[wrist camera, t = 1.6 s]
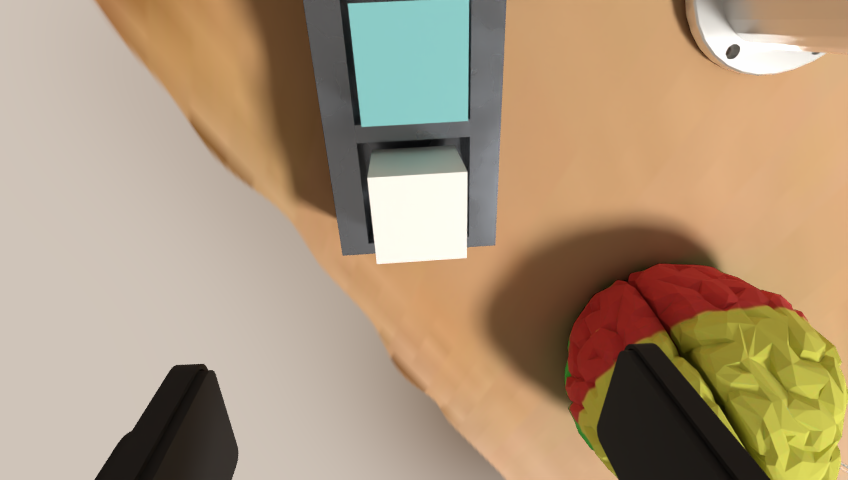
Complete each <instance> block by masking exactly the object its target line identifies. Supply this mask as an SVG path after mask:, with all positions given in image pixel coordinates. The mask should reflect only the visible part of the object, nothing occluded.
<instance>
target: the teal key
mask: <svg viewBox="0 0 848 480" xmlns="http://www.w3.org/2000/svg"><path fill="white" fill-rule="evenodd" d="M348 10H349V19H350V28H351V37H352V46H353V55H354V64H355V73H356V82H357V91H358V100H359V109H360V118H361V127H370V126H388V125H406V124H424V123H441V122H459V121H468V66H469V0H415V1H393V2H371V3H349V4H348Z"/></svg>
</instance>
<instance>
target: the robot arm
mask: <svg viewBox="0 0 848 480" xmlns="http://www.w3.org/2000/svg"><path fill="white" fill-rule="evenodd" d="M685 5H686V16H687V20H688V23H689V27H690V31H691V34H692V36H693V37H694V39H695V41H696V43H697V45H698V47H699V48H700V50H701V51H702V52H703V53H704V54H705V55H706V56H707V57H708V58H709V59H710V60H711V61H712V62H714V63H716V64H717V65H719V66H721V67H722V68H724V69H727V70H730V71H734V72H737V73H742V74H750V75H775V74H779V73H783V72H787V71H791V70H795V69H797V68H799V67H801V66H804V65H806V64H808V63H811V62H813V61H815V60H816V59H818V58H820V57H821V56H823V55H825V54H826V53H834V54H848V0H685ZM597 436H598V439H599V442H600V444H601V446H602V448H603V450H604V452H605V454H606V456H607V458H608V460H609V462H610V464H611V466H612V468H613V469H614V471H615V473H616V475H617V477H618V479H619V480H771V479H770V478H769V477H768V476H767V475H766V473H765V472H764V471H763V470H762V469H761V467H760V466H759V465H758V464H757V463H756V461H755V460H754V459H753V458H752V457H751V456H750V454H749V453H748V452H747V451H746V450H745V448H744V447H743V446H742V445H741V444H740V442H739V441H738V440H737V439H736V438H735V436H734V435H733V434H732V433H731V432H730V431H729V429H728V428H727V427H726V426H725V425H724V423H723V422H722V421H721V420H720V419H719V417H718V416H717V415H716V414H715V413H714V411H713V410H712V409H711V408H710V407H709V406H708V404H707V403H706V402H705V401H704V400H703V398H702V397H701V396H700V395H699V394H698V392H697V391H696V390H695V389H694V388H693V387H692V385H691V384H690V383H689V382H688V381H687V379H686V378H685V377H684V376H683V375H682V373H681V372H680V371H679V370H678V369H677V367H676V366H675V365H674V364H673V363H672V362H671V360H670V359H669V358H668V357H667V356H666V354H665V353H664V352H663V351H662V350H661V348H660V347H659V346H657V345H656V344H654V343H640V344H628V345H627V346H626V347H625V349H624V351H620V352H619V354H618V358H617V361H616V364H615V367H614V371H613V374H612V377H611V381H610V384H609V387H608V391H607V394H606V397H605V401H604V404H603V407H602V410H601V414H600V417H599V420H598V424H597ZM237 461H238V447H237V443H236V440H235V437H234V433H233V430H232V427H231V423H230V420H229V417H228V414H227V410H226V407H225V404H224V400H223V397H222V394H221V391H220V388H219V384H218V381H217V377H216V374H215V372H214V371H213V370H208V369H207V367H206V366H205V365H204V364H192V365H176V366H174V367H173V368H172V369H171V370H170V371H169V373H168V374H167V376H166V378H165V379H164V381H163V382H162V384H161V386H160V387H159V389H158V390H157V392H156V394H155V395H154V397H153V398H152V400H151V402H150V403H149V405H148V406H147V408H146V409H145V411H144V413H143V414H142V416H141V417H140V419H139V421H138V422H137V424H136V425H135V427H134V428H133V430H132V431H131V432H129V433H128V434H126V435H125V436H124V437H123V438H122V439H121V440H120V442H119V443H118V444H117V446H116V447H115V449H114V450H113V452H112V454H111V455H110V457H109V458H108V460H107V461H106V463H105V464H104V466H103V467H102V469H101V470H100V472H99V474H98V475H97V477H96V478H95V480H232V477H233V474H234V471H235V468H236V465H237Z"/></svg>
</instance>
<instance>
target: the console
mask: <svg viewBox="0 0 848 480" xmlns="http://www.w3.org/2000/svg"><path fill="white" fill-rule="evenodd" d="M393 1H415V0H303V4H304V10H305V17H306V23H307V29H308V36H309V42H310V49H311V55H312V61H313V68H314V74H315V81H316V87H317V94H318V100H319V106H320V113H321V119H322V126H323V132H324V139H325V145H326V151H327V158H328V164H329V171H330V177H331V184H332V190H333V196H334V203H335V209H336V216H337V222H338V228H339V235H340V241H341V248H342V254H343V256H344V255H359V254H373V253H376V252H375V243H374V234H373V225H372V216H371V207H370V198H369V189H368V180H367V176H368V171H369V165H370V159H371V153H372V150H381V149H398V148H415V147H432V146H449V145H455V147H456V149H457V151H458V153H459V155H460V157H461V159H462V161H463V164H464V166H465V168H466V170H467V172H468V173H467V247H476V246H491V245H495V238H496V216H497V194H498V172H499V151H500V129H501V107H502V85H503V63H504V41H505V19H506V0H469V66H468V121H459V122H441V123H424V124H406V125H388V126H370V127H361V118H360V109H359V100H358V91H357V82H356V73H355V64H354V55H353V46H352V37H351V28H350V19H349V10H348V4H349V3H371V2H393Z"/></svg>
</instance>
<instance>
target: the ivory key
mask: <svg viewBox="0 0 848 480" xmlns="http://www.w3.org/2000/svg"><path fill="white" fill-rule="evenodd" d="M467 173H468V172H467V170H466V168H465V166H464V164H463V161H462V159H461V157H460V155H459V153H458V151H457V149H456V147H455V145H449V146H432V147H415V148H398V149H381V150H372V153H371V159H370V165H369V171H368V176H367V180H368V189H369V198H370V207H371V216H372V225H373V234H374V243H375V252H376V261H377V264H385V263H399V262H414V261H428V260H443V259H457V258H467Z"/></svg>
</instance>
